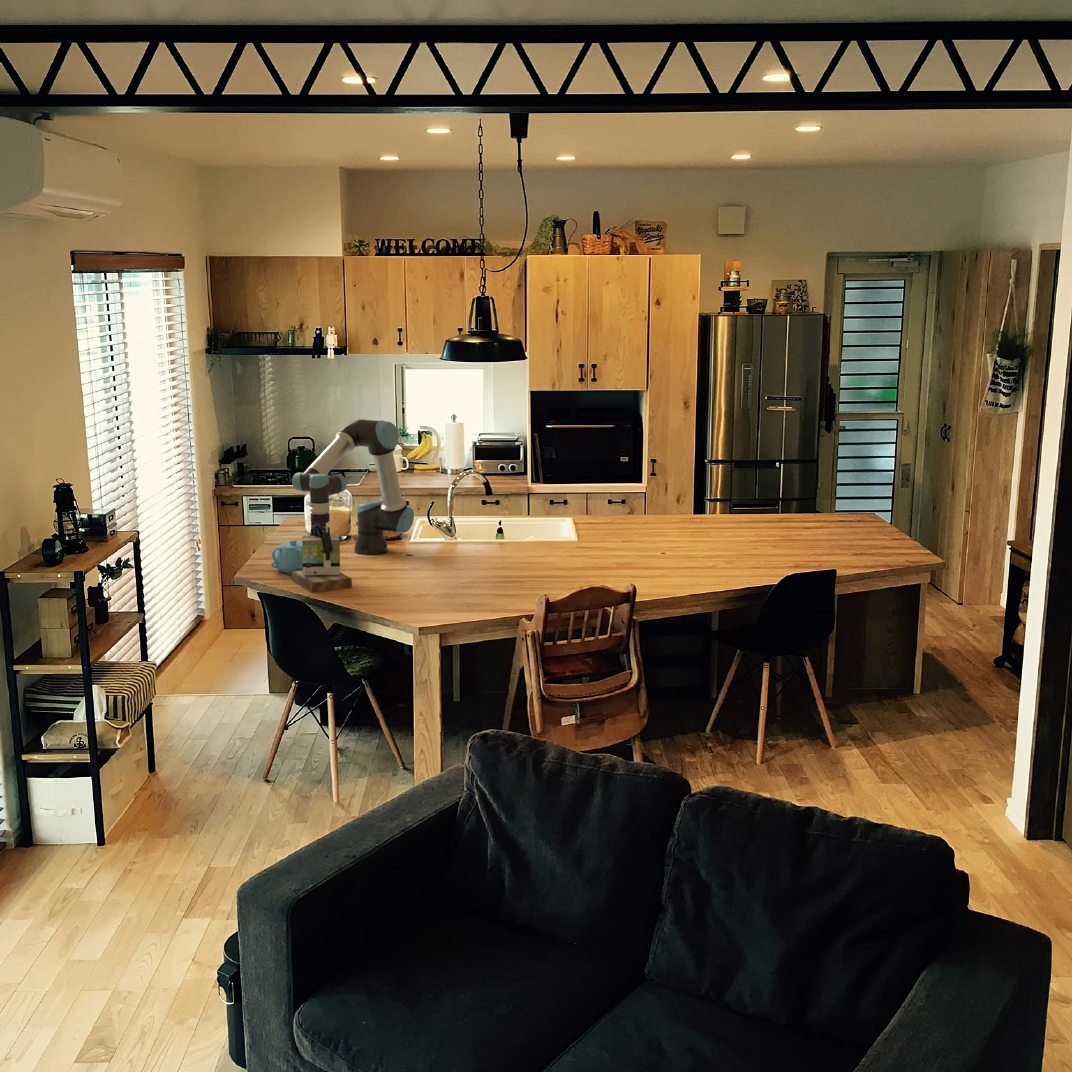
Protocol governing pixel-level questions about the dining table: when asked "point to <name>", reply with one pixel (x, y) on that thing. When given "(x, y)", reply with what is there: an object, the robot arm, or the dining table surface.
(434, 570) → the dining table surface
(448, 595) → the dining table surface
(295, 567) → the decorative pot
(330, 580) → the tray
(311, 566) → the tea box
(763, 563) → the dining table surface
